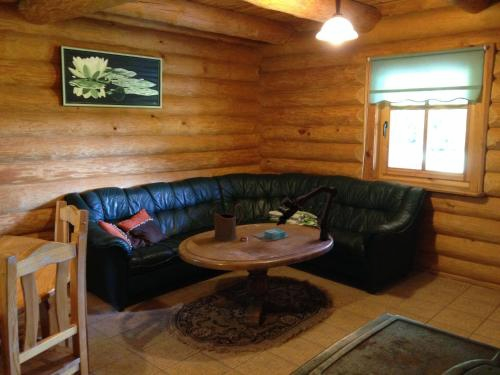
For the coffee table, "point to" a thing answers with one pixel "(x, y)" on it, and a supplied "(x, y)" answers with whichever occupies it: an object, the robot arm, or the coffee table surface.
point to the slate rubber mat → (262, 236)
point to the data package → (275, 234)
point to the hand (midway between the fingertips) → (276, 225)
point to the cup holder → (226, 226)
